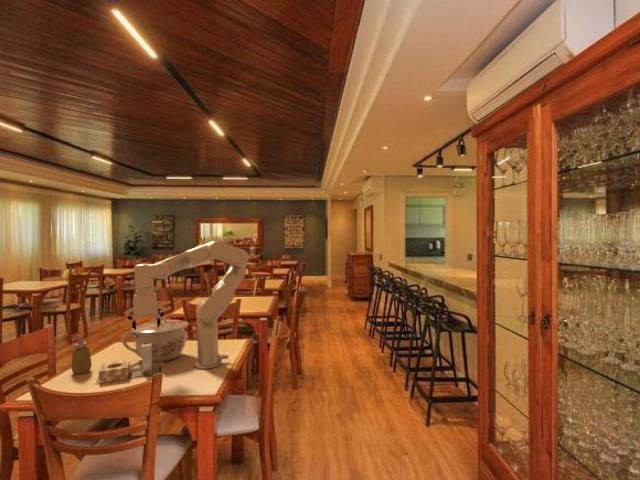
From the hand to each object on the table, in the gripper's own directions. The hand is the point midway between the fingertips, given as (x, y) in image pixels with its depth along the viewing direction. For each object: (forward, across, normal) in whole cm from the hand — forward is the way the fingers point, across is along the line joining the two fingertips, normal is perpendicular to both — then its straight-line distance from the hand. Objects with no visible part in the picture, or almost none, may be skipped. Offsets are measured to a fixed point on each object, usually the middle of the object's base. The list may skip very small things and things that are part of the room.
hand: (146, 328), depth 173 cm
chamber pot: (+21, -5, -22) cm, 31 cm away
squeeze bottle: (+21, +29, -14) cm, 38 cm away
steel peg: (+20, +1, 0) cm, 20 cm away
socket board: (+21, +8, 0) cm, 22 cm away
